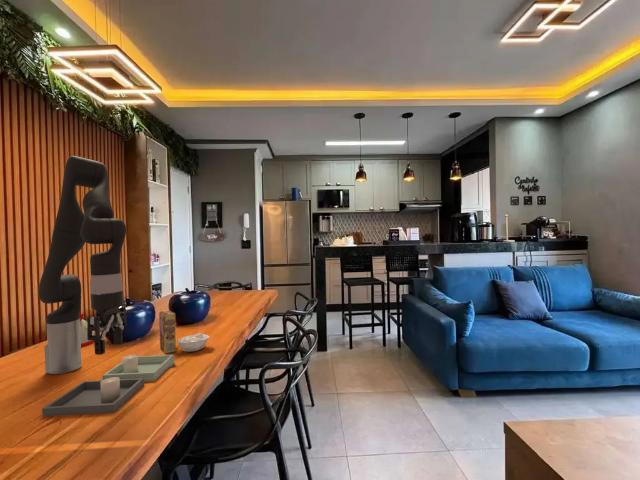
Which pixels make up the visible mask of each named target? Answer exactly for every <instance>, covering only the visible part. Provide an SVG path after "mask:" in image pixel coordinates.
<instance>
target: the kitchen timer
mask: <svg viewBox="0 0 640 480" xmlns="http://www.w3.org/2000/svg"><path fill="white" fill-rule="evenodd" d="M84 315H85V313H82V310H81V311H80V339H81V348H84V347H88V346H91V345H93V344H94V341H92V340H89V341H88V339H87V320H85V319H83V318H84ZM93 334H94V331H92V335H93Z"/></svg>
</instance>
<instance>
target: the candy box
mask: <svg viewBox="0 0 640 480" xmlns="http://www.w3.org/2000/svg"><path fill="white" fill-rule="evenodd" d="M158 315H159V319H158V320H159V326H158V327H159V350H161V351H162V352H163V353H164V354H169V353H174V352H176V349H177V347H176V313H175V312H174V311H171V310H162V311H159V313H158Z"/></svg>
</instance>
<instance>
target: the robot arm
mask: <svg viewBox="0 0 640 480" xmlns="http://www.w3.org/2000/svg"><path fill="white" fill-rule="evenodd" d="M77 186H78V187H84V188H88V189H90V190H89V191H88V192H87V193H85V195H84V196H83V199H82V202H81V203H82V208H81V206H80V204H79V201H78V199H77V196H76V187H77ZM109 190H110V187H109V174H108V169H107V166H106V164H104V163H103V162H100V161H97V160H92V159H89V158H85V157H81V156H76V155H70V156H69V157H68V158H67V160H66V163H65V166H64V171H63V177H62V187H61V193H60V194H61V195H60V200H59V205H58V210H57V214H56V217H55V220H54V221H55V222H54V226H53V230H52V236H51V240H50V241H51V242H50V245H49V252H48V257H47V260H46V263H45V265H44V269H43V272H42V275H41V277H40V281H39V283H38V293H37V294H38V298H39V301H41V302H42V303H43V304H46V305H48V304H49V305H51V304H57V303H61V305H60V306H59V307H58V308H56V309H55V310H53V311H51V312H50V313H47V315H46V318H45V319H46V320H45V321H46V340H47V341H46V342H47V344H45V345H44V346H43V347H44V367H45V370H44V371H45V374H49V375H62V374H66V373H70V372H71V373H72V372H74V371H76V370H78V369H80V368H81V367H83V366H82V365H83V364H82V347H81V339H80V311H81V312H82V284H81V280H80V278H79V276H77V275H76V274H63V272H64V270H65V268H66V267H67V265H68V264H69V263H70V261H71V260H73V258H74V257H76V255H77V254H79V252H80V251H81V250H82V248H83V247H84V245H85V243H86V244H89V245H107V244H111V245H110V247H109V248H108V249H107V250H105V251H101V252H96V253H94V254H91V256H90V258H89V259H90V260H89V265H90V281H89V292H90V308H91V310H95V316H88V317H87V319H86V322H87V339H88V341H89V340H92V341H94V343H93V344H94V355H96V356H97V355H98V356H100V355H104V354H105V353H106V345H105V343H106V342H105V341H106V340H105V337H106V334H107V333H108V332H109V331H110V328H112V329H111V330H113V331H112V334H113V335H112V336H113V337H112V338H113V344H114V345H120V344H122V343H123V342H124V340H123V338H124V337H123V330H124V327H127V325H128V321H127V309H126V306H125V305H124V291H123V290H124V289H123V287H124V286H123V278H122V271H121V269H122V268H121V266H122V265H121V258H122V257H121V255H122V250H123V246H124V243H125V239H126V235H127V226H126V224H125V222H124V221H123V220H122V219H119V218H114V215H115V213H114V210H113V207H112V203H111V201H110V191H109ZM123 305H124V306H123ZM92 331H93V333H94V334H93V335H92Z"/></svg>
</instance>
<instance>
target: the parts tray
mask: <svg viewBox="0 0 640 480" xmlns="http://www.w3.org/2000/svg"><path fill="white" fill-rule="evenodd" d="M101 381H103V380H102V379H99V380H83V381H82V382H80V383H79V384H77V385H76V386H74V387H72V388H71V389H70V390H68V391H66V392H65V393H63V394H62V395H60V396H59V397H58V398H56V399H55V400H52V401H51V402H50V403H48V404H47V405H45V406H44V407H42V408H41V412H42V417H58V416H76V415H77V416H78V415H95V414H99V415H100V414H114V413H116V412H117V411H118V410H119V409H120V408H121V407H122V406H123V405H124V404H125V403H127V401H128V400H129V399H131V398H132V397H133V396H134V395H135V394H136V393H137V392H138V391H139V390H140V389H141V388H142V387H143V386H144V385H145V382H144V378H136V379H120V397H119V398H118V399H117V400H115V401H112V402H106V403H104V402H101V386H100V382H101Z"/></svg>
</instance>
